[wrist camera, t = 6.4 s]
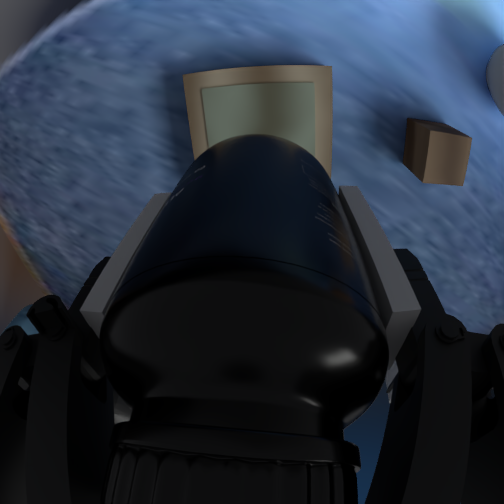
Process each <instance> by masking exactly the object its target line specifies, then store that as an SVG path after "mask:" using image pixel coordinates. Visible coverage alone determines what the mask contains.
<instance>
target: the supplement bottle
mask: <svg viewBox="0 0 504 504" xmlns="http://www.w3.org/2000/svg"><path fill="white" fill-rule="evenodd" d="M99 341H100V354H101V360H102V364H103V367H104V371H105V373H106V375H107V378H108V380H109V382H110V383H111V385H112V387H113V388H114V390H115V391H116V393H117V394H118V395H119V396H120V398H121V399H122V400H123V401H124V402H125V403H126V404H127V405H128V406H129V407H130V409H131V410H132V412H131V416H130V420H129V421H124V422H119V423H117V424H115V425H114V427H113V430H112V434H111V438H110V442H109V448H110V449H111V450H112V451H111V453H110V456H109V460H108V464H107V468H106V473H105V477H104V482H103V487H102V492H101V498H100V503H101V504H358V491H357V477H356V472H358V471H359V470H360V469H361V461H360V452H359V448H358V446H356V445H355V444H353V443H351V442H348V441H344V432H343V429H345V428H346V427H347V426H349V425H350V424H351V423H353V422H354V421H355V420H357V419H358V418H359V417H360V416H361V415H362V414H363V413H364V412H365V411H366V410H367V409H368V408H369V407H370V406H371V404H372V403H373V402H374V400H375V399H376V397H377V396H378V394H379V392H380V390H381V388H382V386H383V383H384V380H385V377H386V374H387V370H388V365H389V346H388V341H387V335H386V331H385V326H384V322H383V319H382V315H381V312H380V309H379V305H378V302H377V299H376V296H375V293H374V289H373V286H372V283H371V280H370V277H369V274H368V271H367V269H366V266H365V263H364V260H363V257H362V255H361V252H360V249H359V246H358V244H357V241H356V238H355V236H354V233H353V231H352V228H351V225H350V223H349V220H348V218H347V215H346V213H345V210H344V208H343V206H342V203H341V201H340V198H339V196H338V194H337V191H336V189H335V187H334V185H333V183H332V181H331V179H330V177H329V175H328V173H327V172H326V170H325V169H324V167H323V166H322V165H321V164H320V162H319V161H318V160H317V159H316V158H315V157H314V156H313V155H312V154H311V153H309V152H308V151H307V150H306V149H304V148H303V147H301V146H299V145H298V144H296V143H294V142H292V141H289V140H287V139H284V138H281V137H277V136H273V135H266V134H245V135H239V136H235V137H231V138H228V139H225V140H223V141H220V142H218V143H216V144H214V145H213V146H211V147H210V148H208V149H207V150H206V151H204V152H203V153H202V154H201V155H200V156H199V157H198V158H197V159H196V160H195V161H194V162H193V163H192V164H191V166H190V167H189V168H188V170H187V171H186V172H185V174H184V175H183V177H182V178H181V180H180V181H179V183H178V184H177V186H176V187H175V189H174V190H173V192H172V193H171V195H170V196H169V198H168V200H167V201H166V203H165V204H164V206H163V208H162V209H161V211H160V212H159V214H158V216H157V217H156V219H155V221H154V222H153V224H152V226H151V227H150V229H149V231H148V232H147V234H146V236H145V237H144V239H143V241H142V243H141V244H140V246H139V248H138V250H137V251H136V253H135V255H134V257H133V259H132V260H131V262H130V264H129V266H128V268H127V270H126V271H125V273H124V275H123V277H122V279H121V281H120V283H119V285H118V287H117V289H116V291H115V293H114V295H113V297H112V299H111V301H110V303H109V306H108V308H107V311H106V313H105V315H104V318H103V321H102V324H101V329H100V335H99Z"/></svg>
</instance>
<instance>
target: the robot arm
mask: <svg viewBox="0 0 504 504" xmlns="http://www.w3.org/2000/svg"><path fill="white" fill-rule="evenodd" d="M170 195H171V193H160V194H154V196H153V197H152V198H151V200H150V201H149V202H148V204H147V205H146V207H145V208H144V209H143V211H142V212H141V214H140V215H139V216H138V218H137V219H136V221H135V222H134V224H133V225H132V226H131V228H130V229H129V231H128V232H127V234H126V235H125V237H124V238H123V240H122V241H121V243H120V244H119V246H118V247H117V249H116V250H115V252H114V253H113V255H112V257H105V258H104V259H103V260H102V261H100V262H99V263H98V264H97V265H96V266H95V268H94V269H93V271H92V272H91V274H90V275H89V278H88V279H87V280H86V282H85V283H84V286H83V287H82V288H81V290H80V292H79V293H78V295H77V297H76V298H75V300H74V302H73V303H72V305H71V307H70V309H69V310H67V309H66V307H65V306H64V304H63V302H62V301H61V299H60V297H59V296H56V295H47V296H45V297H42V298H40V299H39V300H37V301H36V302H35V303H34V304H31V305H28V306H26V307H24V308H23V309H22V310H21V311H20V312H19V313H18V314H17V316H16V317H15V318H14V319H13V320H12V321H11V323H10V324H9V325H8V326H7V327H6V329H5V330H4V331H3V333H2V334H1V335H0V504H101V503H100V498H101V492H102V487H103V482H104V477H105V473H106V468H107V464H108V460H109V456H110V453H111V451H112V450H111V449H110V448H109V442H110V438H111V434H112V430H113V427H114V425H115V424H117V423H119V422H124V421H129V420H130V416H131V412H132V410H131V409H130V407H129V406H128V405H127V404H126V403H125V402H124V401H123V400H122V399H121V398H120V396H119V395H118V394H117V393H116V391H115V390H114V388H113V387H112V385H111V383H110V382H109V380H108V378H107V375H106V373H105V371H104V367H103V364H102V360H101V354H100V341H99V335H100V329H101V324H102V321H103V318H104V315H105V313H106V311H107V308H108V306H109V303H110V301H111V299H112V297H113V295H114V293H115V291H116V289H117V287H118V285H119V283H120V281H121V279H122V277H123V275H124V273H125V271H126V270H127V268H128V266H129V264H130V262H131V260H132V259H133V257H134V255H135V253H136V251H137V250H138V248H139V246H140V244H141V243H142V241H143V239H144V237H145V236H146V234H147V232H148V231H149V229H150V227H151V226H152V224H153V222H154V221H155V219H156V217H157V216H158V214H159V212H160V211H161V209H162V208H163V206H164V204H165V203H166V201H167V200H168V198H169V196H170ZM339 198H340V201H341V203H342V206H343V208H344V210H345V213H346V215H347V218H348V220H349V223H350V225H351V228H352V231H353V233H354V236H355V238H356V241H357V244H358V246H359V249H360V252H361V255H362V257H363V260H364V263H365V266H366V269H367V271H368V274H369V277H370V280H371V283H372V286H373V289H374V293H375V296H376V299H377V302H378V305H379V309H380V312H381V315H382V319H383V322H384V326H385V331H386V335H387V341H388V346H389V365H388V370H390V368H391V367H392V365H393V363H394V362H395V360H396V364H397V367H398V373H397V374H396V376H395V377H394V379H393V380H392V382H391V383H390V385H389V387H388V389H387V393H390V392H391V390H392V389H393V390H392V397H391V403H390V408H389V414H388V419H387V424H386V429H385V433H384V438H383V442H382V446H381V450H380V454H379V458H378V462H377V465H376V469H375V473H374V476H373V479H372V483H371V486H370V489H369V492H368V495H367V498H366V501H365V504H460V502H461V504H504V324H499V325H496V326H495V327H494V329H493V330H492V331H491V333H490V334H489V335H486V334H479V333H473V332H468V331H467V330H466V328H465V326H464V325H463V324H462V322H461V321H459V320H458V319H457V318H455V317H454V316H451V315H448V314H446V313H445V311H444V308H443V306H442V304H441V302H440V300H439V298H438V296H437V294H436V292H435V290H434V288H433V286H432V284H431V282H430V281H429V280H428V277H427V275H426V273H425V271H423V268H422V266H421V264H420V262H419V260H418V259H417V257H415V256H414V255H413V254H412V253H411V252H410V251H409V250H408V249H393V248H392V246H391V244H390V242H389V241H388V239H387V237H386V235H385V233H384V231H383V229H382V228H381V226H380V224H379V222H378V220H377V219H376V217H375V215H374V213H373V212H372V210H371V208H370V207H369V205H368V203H367V201H366V200H365V198H364V196H363V195H362V193H361V191H360V190H359V188H358V187H357V186H339ZM492 389H494V393H495V397H493V396H492V395H491V392H490V391H491V390H492Z"/></svg>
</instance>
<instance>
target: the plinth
mask: <svg viewBox="0 0 504 504" xmlns="http://www.w3.org/2000/svg"><path fill="white" fill-rule="evenodd" d="M183 82H184V90H185V98H186V105H187V112H188V119H189V126H190V133H191V140H192V146H193V153H194V159H195V160H196V159H197V158H198V157H199V156H200V155H201V154H202V153H203V152H204V151H206V150H207V149H208V148H210V147H211V146H213V145H214V144H216V143H218V142H220V141H223V140H225V139H228V138H231V137H235V136H239V135H245V134H266V135H273V136H277V137H281V138H284V139H287V140H289V141H292V142H294V143H296V144H298V145H299V146H301V147H303V148H304V149H306V150H307V151H308V152H309V153H311V154H312V155H313V156H314V157H315V158H316V159H317V160H318V161H319V162H320V164H321V165H322V166H323V167H324V169H325V170H326V172H327V173H328V175H329V177H330V179H331V162H332V66H316V65H275V66H254V67H240V68H229V69H220V70H212V71H204V72H197V73H191V74H185V75H183Z"/></svg>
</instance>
